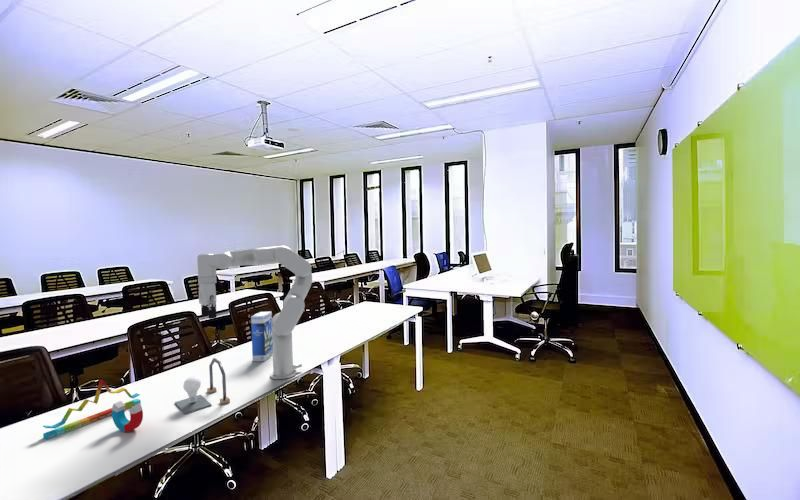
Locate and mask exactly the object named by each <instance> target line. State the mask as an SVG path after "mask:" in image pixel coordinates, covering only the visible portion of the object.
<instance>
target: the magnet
mask: <svg viewBox="0 0 800 500" xmlns="http://www.w3.org/2000/svg"><path fill="white" fill-rule="evenodd" d="M124 403H125V402H123V401H122V400H119V401H117V402H114V403H113V404H112V407H111V408H112V415H111V418H112V421H113V424H114V425H115V427H116V428H117V429H118V430H120V431H121V432H123V433H129V432H132V431H133V430H135V429H137V428H139V427H140V426H141V424H142V423H143V419H144V418H143V417H144V413H143V407H142V404H138V405H135V406H133V407H131V408H129V409H128V412H129V415H130V417H129V418H130V419H128V418H127V416H126V414H125V410H124V408H125V404H124Z"/></svg>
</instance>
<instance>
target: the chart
mask: <svg viewBox="0 0 800 500" xmlns="http://www.w3.org/2000/svg"><path fill="white" fill-rule="evenodd" d="M103 386H104V388H105V389H106V391H107V393H109V394H121V393H122V392H124V393H126V395H127V396H128V397H129V399H130V398H131V399H132V400H129V401H127V402H123V403H124V404H125V408H124V411H125V410H129V409H131V408H132V407H133V406H135V405H138V404H141V403H142V402H141V399H138V398H137V397H139V396H140V395H141V394H140V393H137V392H136V393H134V394H131V393H130V392H129V391H128V389H126V388H125V387H121V388H119V389H117V390H111V389H110V388H109V386H108V385H107V383H106V382H105V380H103V379H99V382H98V385H97V389H96V393H95V396H94V399H93V401H92V400H89V399H86V398H85V399H84V400H83V402H82V403H81V404H80V406H78V408H73V407H72V408H71V407H69V408H67V411H66V412H65V414H64V416H63V418H62V419H61V421H59V422H57V423H55V424H53V425H42V427H43V428H45V429H51V430H49V431H46V432H44V433H43V439H45V440H48V441H49V440H50V439H53V438H56V437H58V436H60V435H64V434H66V433H69V432H71V431H73V430H76V429H79V428H81V427H84V426H86V425H90V424H92V423H94V422H97V421H99V420H102V419H105V418H108V417H111V416H112V407H111V408H108V409H105V410H102V411H99V412H97V413H95V414H92V415H88V416H87V417H84V418H81V419H78V420H76V421H72V422H71V423H67V424H66V422H67V420H68V418H69V417H70V416H71V414H72V413H73V412H74V411H75V412H82V411H83V409H84V408H85V407H86V406H87V405H88V403H89V402H90V403H93V404H95V405H97V404H98V403H99V398H100V395H101V391H102V388H103ZM141 405H142V404H141Z"/></svg>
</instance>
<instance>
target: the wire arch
mask: <svg viewBox="0 0 800 500" xmlns="http://www.w3.org/2000/svg"><path fill="white" fill-rule="evenodd" d="M214 363H216V364H217V366H218V368H219V371H220V374H221V376H222V377H221V378H222V398H219V403H220V404H221V405H226V404H230V403H231V399H230V398H229V397H228V396H227V383H226V382H227V381H226V373H225V370H224V367H223V365H222V362H221V361H220V360H219V359H217V358H215V357H214V358H212V360H211V362H209V366H208V367H209V368H208V369H209V387H207V388H206V392H207V393H208V394H214V393H216V392H217V387H215V386H214V379H213V378H214V376H213V365H214Z"/></svg>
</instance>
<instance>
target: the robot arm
mask: <svg viewBox="0 0 800 500" xmlns="http://www.w3.org/2000/svg"><path fill="white" fill-rule="evenodd" d="M196 259H197V261H196V262H197V263H196V264H197V282H198V302H199V304H200V306H201V312H200V313H201V316H202V317H203V316H208V319H210V320H211V319H216V318H217V316H218V315H217V290H216V289H217V288H216V284H217V269H218V270H219V269H221V270H225V269H229V268H231V267H240V266H253V267H254V266H264V265H273V264H274V265H275V264H280V265H282V266H283V267H284V268H286V269H287V270H289V271H290V272H292V273H293V274H294V276H295V277H294V282H293V284H292V286H291V287H290V290H289V291H288V292H287V295H286V296H285V298H284V299H283V301H282V302H283V303H282V306H283V307H282V309H281V310H280V312H278V313H275V314H274V315H273V316H272V322H271V327H272V344H273V345H272V346H273V355H272V362H273V363H272V366H273V367H272V369H273V370H272V371H271V372H270V374H269V375H270V378H271V379H272V380H286V379H290V378H292V377H295V376H296V374H297V369H298V368H301V367H303V365H302V363H301V362H300V363H294V357H293V356H294V355H293V353H294V352H293V330H294V329H295V327H296V326H297V324H298V322H299V320H300V318H301V316H302V314H303V313H304V312H305V311H304V310H305V307H306V305H305V298H306V297H307V296H308V293H309V291H310V289H311V286H312V284H313V273H312V265H311V263H310V262H309V261H308V260H306V259H305V258H303V256H301V255H299V254H298V253H296V252H295V251H293V249H291V248H290V247H288V246H286V245H278V246H277V245H275V246H274V245H273V246H267V247H266V246H265V247H256V248H255V247H254V248H251V249H250V248H249V249H244V250H233V251H224V252H223V251H222V252H220V253H200V254H197V256H196Z"/></svg>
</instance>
